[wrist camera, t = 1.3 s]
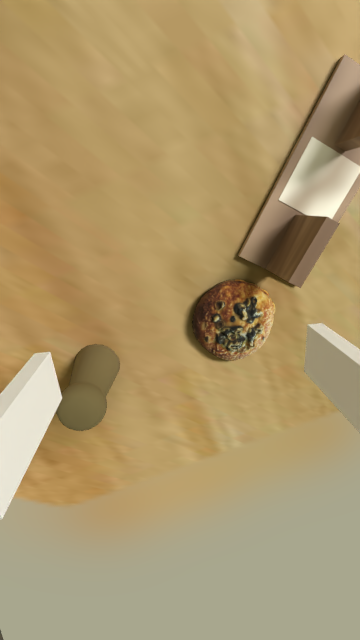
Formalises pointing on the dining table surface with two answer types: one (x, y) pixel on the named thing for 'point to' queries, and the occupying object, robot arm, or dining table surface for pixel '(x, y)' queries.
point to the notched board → (312, 183)
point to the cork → (88, 388)
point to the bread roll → (233, 319)
